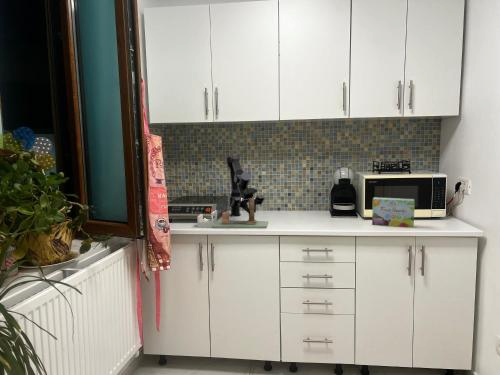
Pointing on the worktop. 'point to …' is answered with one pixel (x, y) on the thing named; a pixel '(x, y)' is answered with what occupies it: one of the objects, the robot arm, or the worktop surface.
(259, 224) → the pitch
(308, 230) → the worktop surface
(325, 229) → the worktop surface
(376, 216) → the snack box
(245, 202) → the robot arm
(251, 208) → the post with bar block
